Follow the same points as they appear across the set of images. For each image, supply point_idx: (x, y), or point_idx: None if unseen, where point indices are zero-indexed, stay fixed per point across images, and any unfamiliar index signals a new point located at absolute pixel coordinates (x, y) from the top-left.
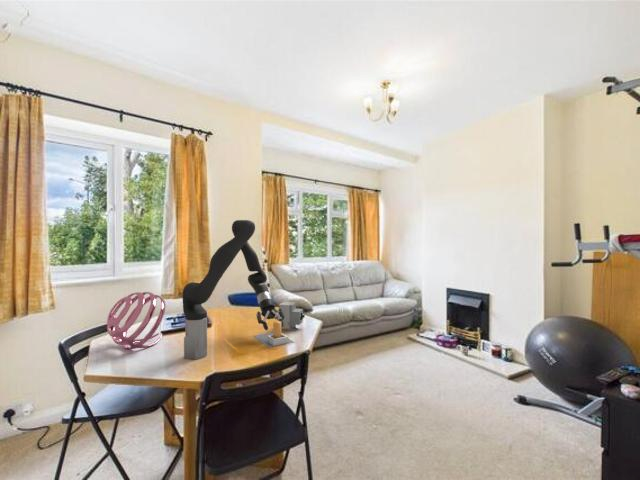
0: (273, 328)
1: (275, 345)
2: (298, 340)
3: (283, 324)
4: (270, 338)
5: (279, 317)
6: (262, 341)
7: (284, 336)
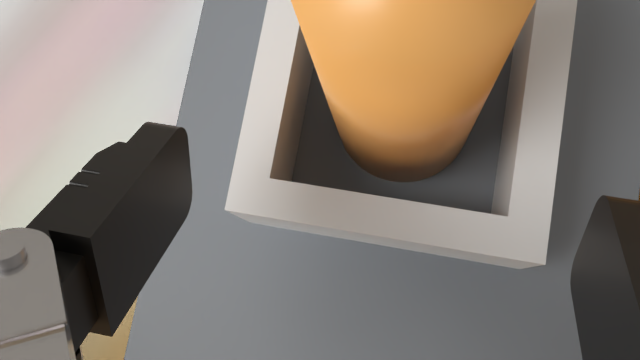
0: (502, 66)
1: None
2: (81, 47)
3: (113, 148)
4: (562, 102)
5: (31, 289)
6: None
7: None
